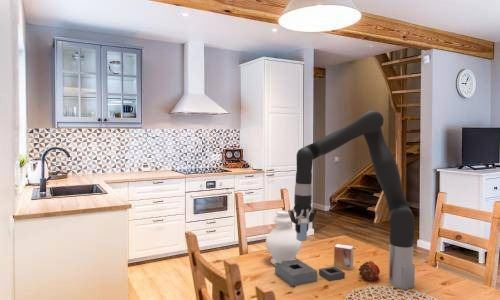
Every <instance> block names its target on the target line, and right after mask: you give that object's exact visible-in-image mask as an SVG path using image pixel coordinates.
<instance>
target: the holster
mask: <svg viewBox="0 0 500 300" xmlns="http://www.w3.org/2000/svg"><path fill="white" fill-rule="evenodd" d="M318 275H319V276H320V277H322V278H324V279H326V280H327V281H328V282H331V281H332V282H333V281H338V280H342V279H343V280H344V279H345V277H346V272H345V271H343V270H341V269H340V268H336V267H334V265H332V266H329V267H328V266H327V267H322V268H319V269H318Z"/></svg>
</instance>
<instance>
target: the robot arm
mask: <svg viewBox="0 0 500 300" xmlns="http://www.w3.org/2000/svg"><path fill="white" fill-rule="evenodd" d="M383 125H384V116H383V114H382V113H380V111H377V110H374V109H373V110H372V109H371V110H367V111H365V112H364V113H362V114H361V115H360V117H358V118H357V119H356V120H355V121H353V122H351V123H349V124H348V125H346V126H345V127H342V128H339V129H338V130H335V131H333V132H331V133H329V134H327V135H325V136H323V137H321V138H319V139H317V140H316V141H314V142H313V143H310V144H308V145H305V146H304V147H303V146H302V147H301V148H300V149H298V150H297V152H296V173H295V183H294V184H295V186H294V198H293V199H294V200H293V201H294V202H293V204H294V207H293V208H292V209H288V210H287V211H288V213H289V216H290V219H291V221H292V224H294V225H295V228H294V230H295V231H296V232H297V233H300V221H301V219H302V217H305V218H307V232H308V231H309V225H310V224H311V223H313V222H314V219H315V217H316V214H317V212H318V211H317V209H315V208H313V207H312V202H313V201H312V200H313V199H312V198H313V196H312V195H313V186H312V183H313V182H312V181H313V171H312V170H313V165H314V164H313V162H314V160H315V159H317V158H319V157H321V156H325V155H327V154H330V153H331V152H333V151H335V150H337V149H339V148H340V147H342V146H343V145H346V144H347V143H348V142H351V141H353V140H355V139H357V138H359V137H361V136H363V138H364V139H365V142H366V145H367V147H368V152H369V157H370V161H371V164H372V168H373V169H374V170H373V171H374V173H375V177H376V180H377V181H378V183H379V186H380V187H381V190H382V192H383V194H384V197H385V200H386V203H387V207H388V211H389V212H388V214H389V219H390V220H389V221H390V222H389V223H390V224H389V226H390V227H389V244H388V245H389V246H388V247H389V251H388V254H389V255H388V283H389V284H390V285H391V286H393V287H394V288H398V289H401V290H408V289H412V288H413V289H414V288H415V282H416V281H415V276H416V275H415V274H416V273H415V272H416V266H415V264H414V240H415V228H416V227H415V226H416V225H415V223H416V222H415V215H414V214H413V211H412V209H411V208H410V206H409V204H408V202H407V199H406V197H405V194H404V190H403V185H402V180H401V176H400V171H399V167H398V165H397V162H396V160H395V157H394V155H393V153H392V151H391V149H390V148H389V146H388V145H387V142H386V140H385V138H384V137H385V136H384V135H383V134H384V133H383V130H382V126H383Z"/></svg>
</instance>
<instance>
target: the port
mask: <svg viewBox="0 0 500 300" xmlns="http://www.w3.org/2000/svg"><path fill="white" fill-rule="evenodd" d="M294 259H295V260H289V261H283V262H277V263H275V265H274V274H275V275H276V276H277V277H278V278H280V279H281V280H282V281H284V282H285V283H287V285H289V286H291V287H292V288H296V287H297V286H301V285H306V284H311V283H316V282H318V270H317V269H315V268H313V267H311V266H310V265H308V264H307V263H305V262H303V261H302V260H301V259H298V258H297V259H296V258H294Z"/></svg>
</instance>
